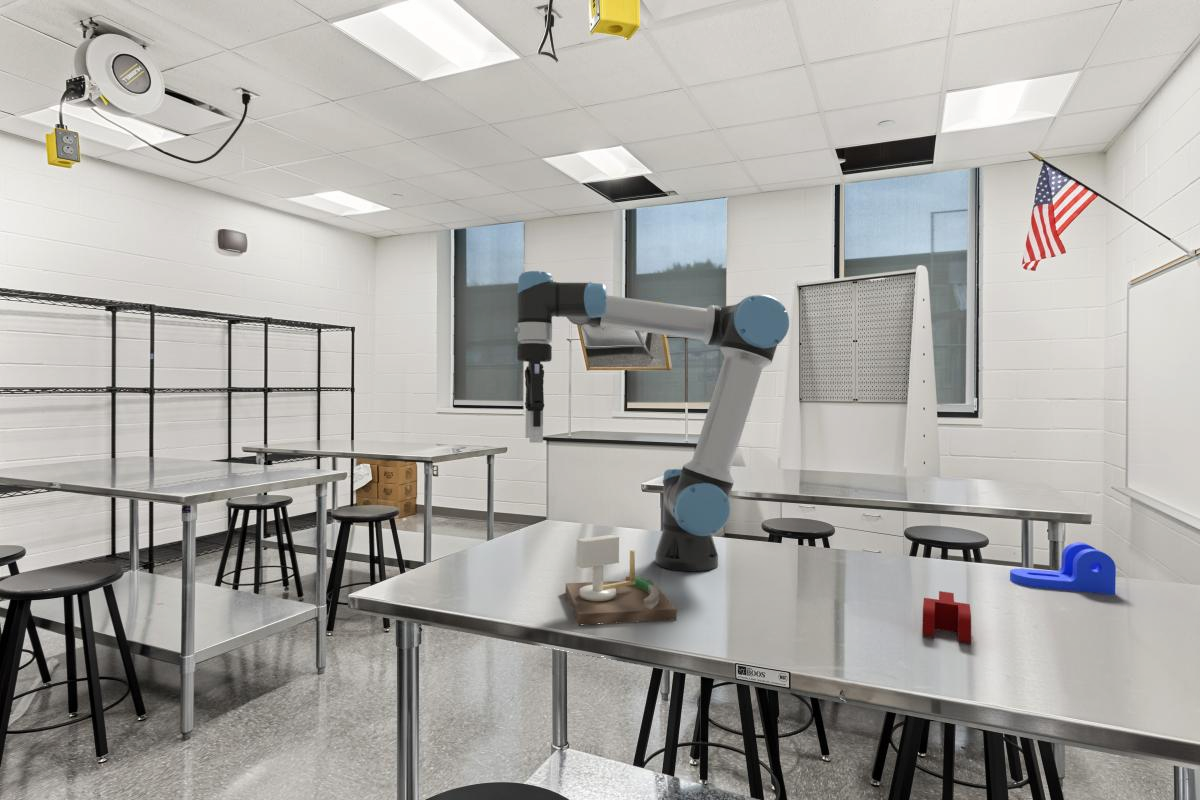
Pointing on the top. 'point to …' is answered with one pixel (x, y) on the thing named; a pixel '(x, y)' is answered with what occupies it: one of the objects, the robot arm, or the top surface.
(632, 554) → the peg
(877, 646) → the top surface
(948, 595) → the mechanical linkage
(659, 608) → the wooden base board
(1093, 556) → the bracket
